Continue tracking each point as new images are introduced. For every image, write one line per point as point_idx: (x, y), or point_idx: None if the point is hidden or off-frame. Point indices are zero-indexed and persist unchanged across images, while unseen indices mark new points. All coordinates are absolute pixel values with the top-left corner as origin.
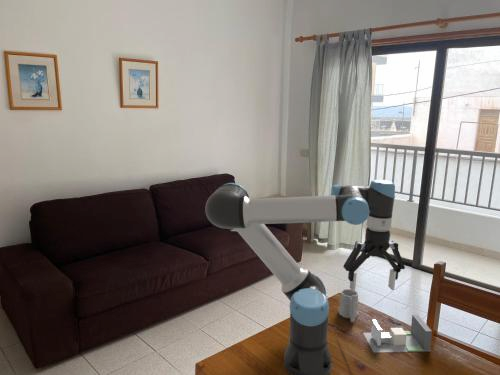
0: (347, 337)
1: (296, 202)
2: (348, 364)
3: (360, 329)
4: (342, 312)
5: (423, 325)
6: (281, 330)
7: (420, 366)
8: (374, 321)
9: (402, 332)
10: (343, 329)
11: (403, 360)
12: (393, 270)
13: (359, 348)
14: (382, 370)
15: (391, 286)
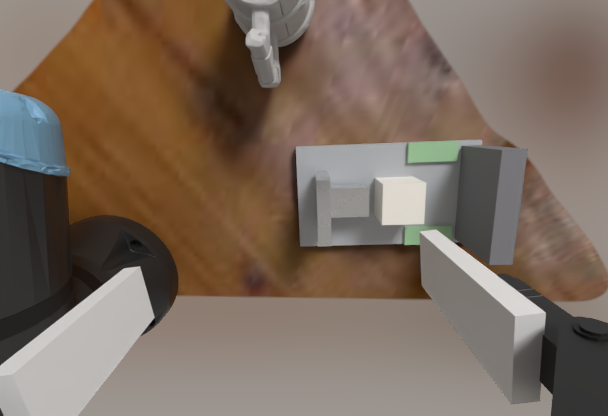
0: (244, 154)
1: None
2: (223, 275)
3: (298, 107)
4: (241, 22)
5: (502, 228)
6: None
7: (411, 285)
8: (322, 191)
9: (414, 213)
10: (239, 107)
11: (376, 262)
12: (525, 367)
13: (269, 210)
14: (305, 297)
15: (429, 285)
